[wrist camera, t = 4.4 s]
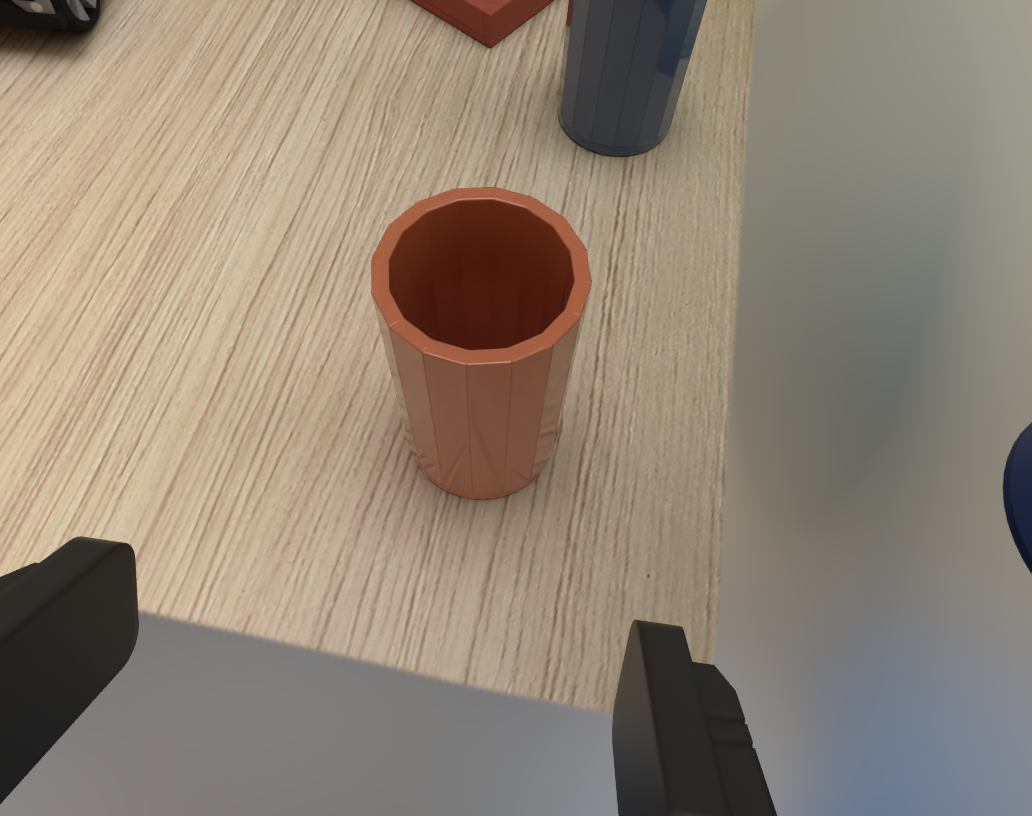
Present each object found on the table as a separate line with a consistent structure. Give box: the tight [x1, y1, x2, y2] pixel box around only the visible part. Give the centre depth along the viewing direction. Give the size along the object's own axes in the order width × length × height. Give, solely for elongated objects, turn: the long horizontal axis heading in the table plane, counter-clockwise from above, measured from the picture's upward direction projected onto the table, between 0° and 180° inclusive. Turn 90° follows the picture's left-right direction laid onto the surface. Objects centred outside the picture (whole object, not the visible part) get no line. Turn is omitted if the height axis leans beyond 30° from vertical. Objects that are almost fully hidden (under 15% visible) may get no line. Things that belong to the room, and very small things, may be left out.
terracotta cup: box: [371, 187, 592, 499], centre depth 25 cm, size 6×6×11 cm
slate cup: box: [558, 0, 707, 156], centre depth 34 cm, size 6×6×9 cm
